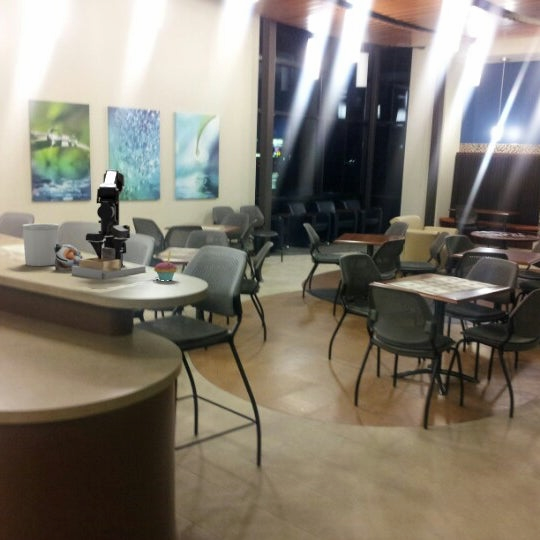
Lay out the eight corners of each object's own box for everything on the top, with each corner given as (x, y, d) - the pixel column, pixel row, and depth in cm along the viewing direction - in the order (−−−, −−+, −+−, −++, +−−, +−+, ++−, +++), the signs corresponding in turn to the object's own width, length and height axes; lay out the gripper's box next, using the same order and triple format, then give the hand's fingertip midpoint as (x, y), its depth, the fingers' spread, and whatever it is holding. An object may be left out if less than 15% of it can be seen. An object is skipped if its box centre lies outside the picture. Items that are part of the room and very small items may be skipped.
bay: (114, 270, 248) (114, 259, 247) (145, 274, 240) (145, 263, 239) (71, 277, 228) (71, 266, 227) (104, 282, 220) (103, 270, 219)
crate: (99, 271, 237) (99, 246, 235) (122, 274, 231) (121, 249, 230) (79, 274, 228) (78, 249, 226) (102, 278, 222) (101, 251, 220)
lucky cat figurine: (95, 269, 248) (92, 242, 240) (74, 284, 240) (70, 256, 231) (69, 256, 254) (65, 229, 245) (47, 270, 245) (43, 243, 237)
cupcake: (180, 279, 231) (180, 249, 229) (170, 283, 223) (170, 251, 221) (161, 277, 234) (161, 247, 232) (150, 281, 226) (150, 250, 224)
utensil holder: (16, 264, 255) (14, 224, 252) (41, 260, 269) (40, 222, 266) (42, 267, 250) (41, 226, 247) (66, 263, 263) (66, 224, 261)
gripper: (105, 220, 218) (106, 262, 220) (140, 218, 234) (140, 257, 236) (84, 218, 223) (85, 259, 226) (119, 216, 239) (119, 254, 242)
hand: (108, 257), depth 232 cm, fingers open, 9 cm apart
